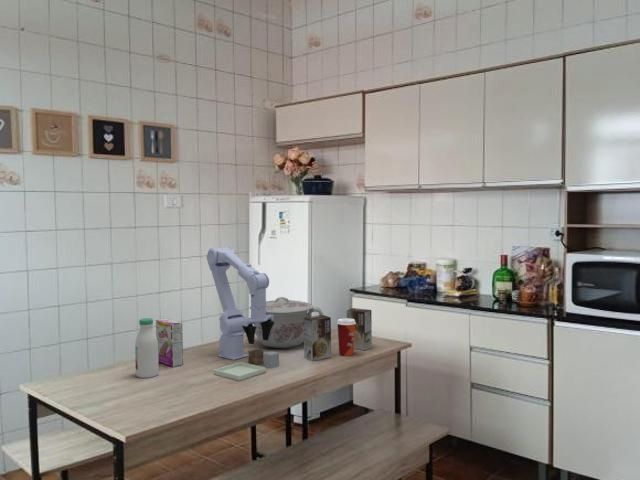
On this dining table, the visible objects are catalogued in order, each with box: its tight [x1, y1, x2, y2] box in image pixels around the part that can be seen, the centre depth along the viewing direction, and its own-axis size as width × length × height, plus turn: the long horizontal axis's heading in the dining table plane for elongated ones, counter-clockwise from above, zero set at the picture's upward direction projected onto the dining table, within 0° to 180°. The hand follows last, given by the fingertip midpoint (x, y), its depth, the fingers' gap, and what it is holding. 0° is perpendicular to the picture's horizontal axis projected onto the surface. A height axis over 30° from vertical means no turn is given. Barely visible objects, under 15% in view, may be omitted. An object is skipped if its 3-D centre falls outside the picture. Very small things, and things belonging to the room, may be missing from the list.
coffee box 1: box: [303, 314, 332, 362], centre depth 222 cm, size 9×6×16 cm
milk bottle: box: [134, 317, 160, 379], centre depth 200 cm, size 8×8×20 cm
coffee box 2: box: [346, 307, 373, 351], centre depth 238 cm, size 9×6×16 cm
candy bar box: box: [155, 318, 184, 368], centre depth 215 cm, size 11×5×16 cm, turn 47°
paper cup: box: [336, 317, 356, 357], centre depth 227 cm, size 8×8×14 cm
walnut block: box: [247, 348, 264, 366], centre depth 214 cm, size 4×4×5 cm
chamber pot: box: [249, 296, 324, 349], centre depth 243 cm, size 28×28×21 cm
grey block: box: [263, 350, 280, 369], centre depth 211 cm, size 4×4×5 cm
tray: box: [213, 361, 267, 382], centre depth 202 cm, size 13×13×2 cm
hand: (258, 341), depth 213 cm, fingers open, 7 cm apart
